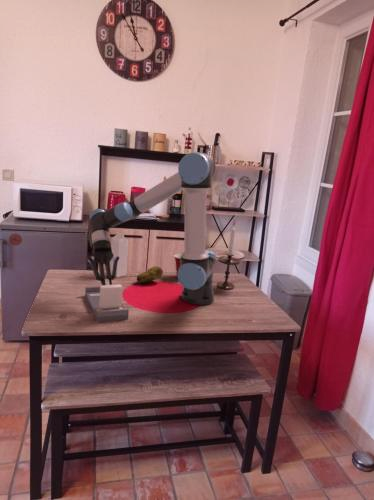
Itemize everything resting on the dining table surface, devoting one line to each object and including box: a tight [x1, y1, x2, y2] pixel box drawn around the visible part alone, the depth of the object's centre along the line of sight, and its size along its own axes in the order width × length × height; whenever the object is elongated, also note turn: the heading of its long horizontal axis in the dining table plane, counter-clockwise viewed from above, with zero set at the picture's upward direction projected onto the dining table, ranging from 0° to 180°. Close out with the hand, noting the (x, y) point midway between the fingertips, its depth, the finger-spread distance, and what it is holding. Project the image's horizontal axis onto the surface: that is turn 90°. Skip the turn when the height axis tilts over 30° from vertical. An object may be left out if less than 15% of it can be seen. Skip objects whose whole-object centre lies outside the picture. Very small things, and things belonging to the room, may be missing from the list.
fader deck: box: [84, 285, 130, 323], centre depth 151 cm, size 26×12×4 cm, turn 24°
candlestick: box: [216, 219, 241, 291], centre depth 185 cm, size 11×11×35 cm
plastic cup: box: [173, 253, 182, 274], centre depth 195 cm, size 11×11×12 cm
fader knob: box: [99, 283, 124, 310], centre depth 142 cm, size 5×8×10 cm, turn 114°
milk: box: [110, 231, 129, 278], centre depth 187 cm, size 6×6×22 cm
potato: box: [136, 265, 164, 284], centre depth 183 cm, size 8×13×8 cm, turn 99°
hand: (108, 295), depth 145 cm, fingers closed
